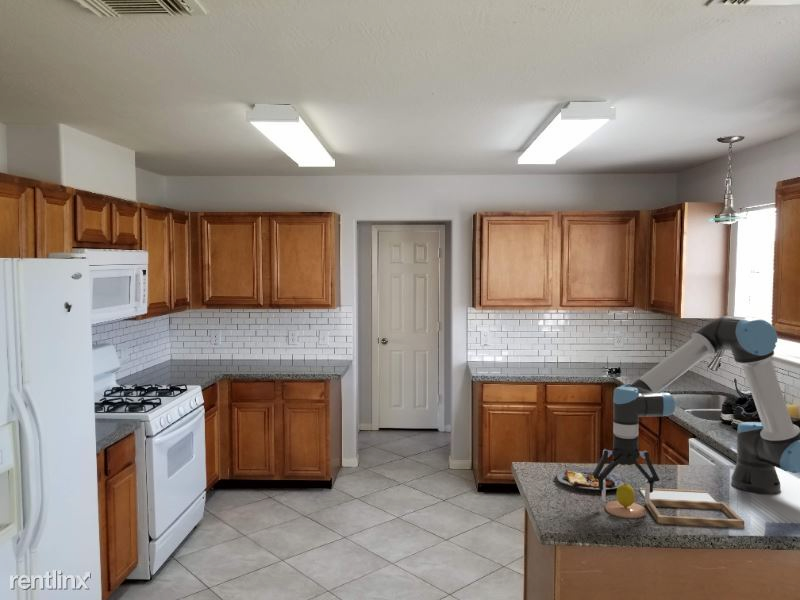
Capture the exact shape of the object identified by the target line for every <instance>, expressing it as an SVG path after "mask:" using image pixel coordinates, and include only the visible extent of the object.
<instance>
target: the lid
mask: <svg viewBox="0 0 800 600" xmlns="http://www.w3.org/2000/svg"><path fill="white" fill-rule="evenodd" d="M638 488H639V489H638V490H639V492H640V494H641V495H642V496H643V498H644V499H645V487H638ZM650 499H668V500H688V501H708V502H717V501H716V500H715V499H714V498H713V497H712V496H711V495H710V494H709V493H708V491H707V490H699V489H696V490H695V489H679V488H678V489H677V488H660V487H659V488H658V487H657V488H656V487H655V488H654V487H653V492H652V493H650Z"/></svg>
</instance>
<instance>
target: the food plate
mask: <svg viewBox="0 0 800 600" xmlns="http://www.w3.org/2000/svg"><path fill="white" fill-rule="evenodd" d="M594 470H595V468H594V467H579V466H578V467H567V468H562V469H560V470H558V471H557V472H556V477H557V481H558V482H559V483H561V484H564V485H565V486H569V487H571V488H572V487H573V488H577V489H583V490H584V489H585V490H593V491H595V490H596V491H600V490H599V487H598V479H595V478H594V477H593V472H594ZM603 470H604V469H602V470H601V472H602V471H603ZM601 472H600V473H601ZM582 473H584V474H588V475H586V477H589V478H588V480H589V479H590V481H592V482H593V483H591V484H589V483H590V482H589V483H587V481H586V480H587V479H586V478H585V477H584V476H585V475H582ZM599 475H600V474H599ZM605 481H606V491H608V490H617V489H618V487H619V486H620V485H622V484H624V483H625V480H624V479H623V478H622V476H621V475H620V474H618V473H614V472H612V471H611V472H610V473H609V474H608V475H607V476H606V478H605Z"/></svg>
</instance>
